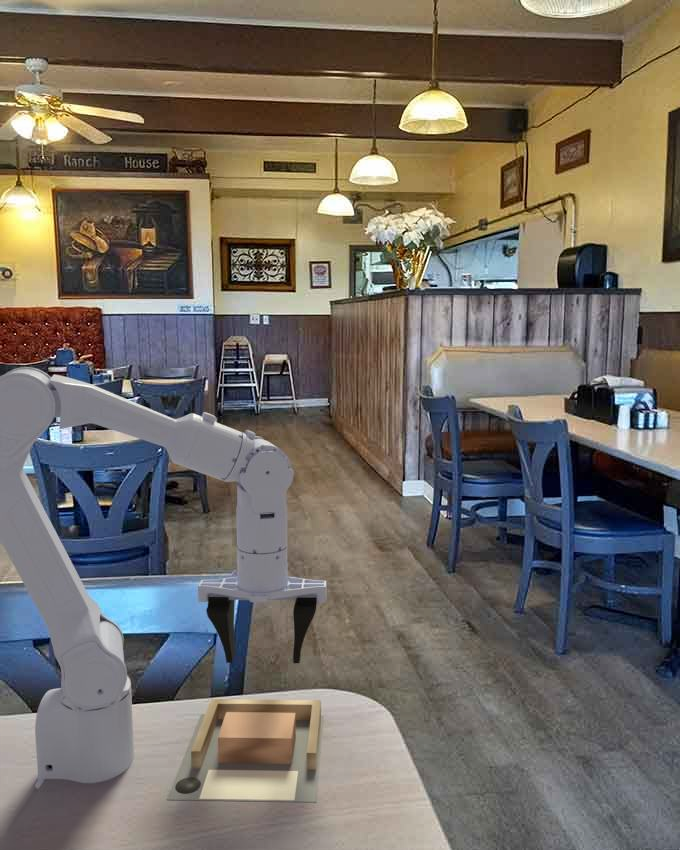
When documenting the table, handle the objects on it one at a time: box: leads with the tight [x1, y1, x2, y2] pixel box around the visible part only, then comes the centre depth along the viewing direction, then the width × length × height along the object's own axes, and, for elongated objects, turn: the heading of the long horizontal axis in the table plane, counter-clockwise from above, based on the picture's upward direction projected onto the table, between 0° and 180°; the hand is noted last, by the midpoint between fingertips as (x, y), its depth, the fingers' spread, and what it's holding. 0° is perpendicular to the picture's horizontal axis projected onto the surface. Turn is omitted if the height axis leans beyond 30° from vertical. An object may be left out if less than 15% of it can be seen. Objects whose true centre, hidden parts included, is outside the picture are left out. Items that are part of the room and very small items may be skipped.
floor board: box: [166, 713, 324, 803], centre depth 78 cm, size 15×16×1 cm
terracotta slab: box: [218, 712, 296, 764], centre depth 78 cm, size 8×5×3 cm, turn 89°
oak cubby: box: [191, 698, 322, 770], centre depth 80 cm, size 13×10×2 cm
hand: (263, 659), depth 81 cm, fingers open, 7 cm apart
